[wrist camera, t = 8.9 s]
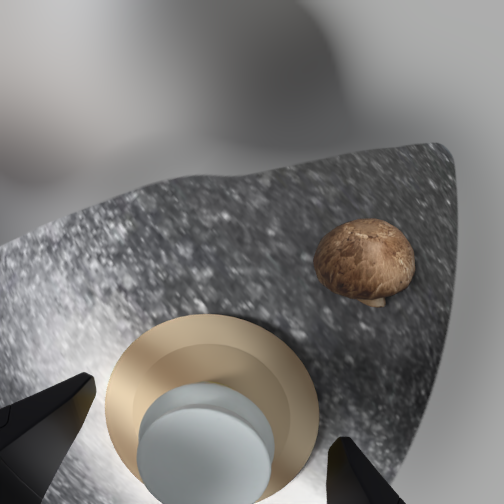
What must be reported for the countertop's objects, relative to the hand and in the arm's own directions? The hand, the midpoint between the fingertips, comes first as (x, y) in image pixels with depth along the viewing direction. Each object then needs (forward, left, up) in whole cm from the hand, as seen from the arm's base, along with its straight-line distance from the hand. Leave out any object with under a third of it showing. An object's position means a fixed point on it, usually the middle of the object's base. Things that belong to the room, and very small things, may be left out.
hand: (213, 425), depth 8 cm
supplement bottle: (-1, 0, -8) cm, 8 cm away
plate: (-1, 0, -9) cm, 9 cm away
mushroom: (+14, -3, -9) cm, 17 cm away
